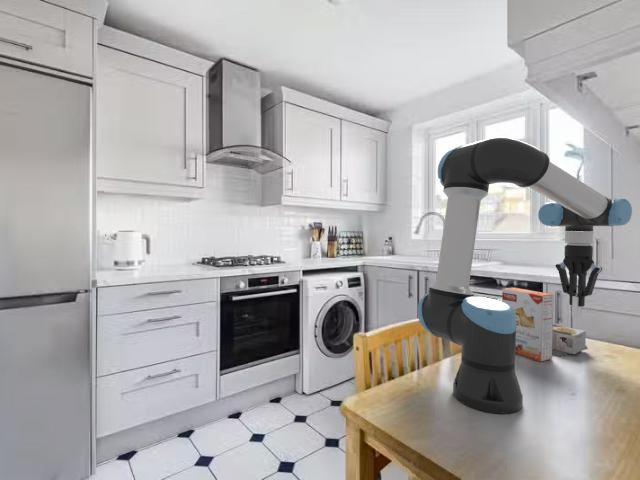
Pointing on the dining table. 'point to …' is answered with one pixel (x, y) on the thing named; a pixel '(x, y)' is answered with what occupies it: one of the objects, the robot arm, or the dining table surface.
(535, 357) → the cracker box
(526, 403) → the dining table surface
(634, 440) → the dining table surface
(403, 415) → the dining table surface
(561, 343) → the coffee box
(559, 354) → the mat
